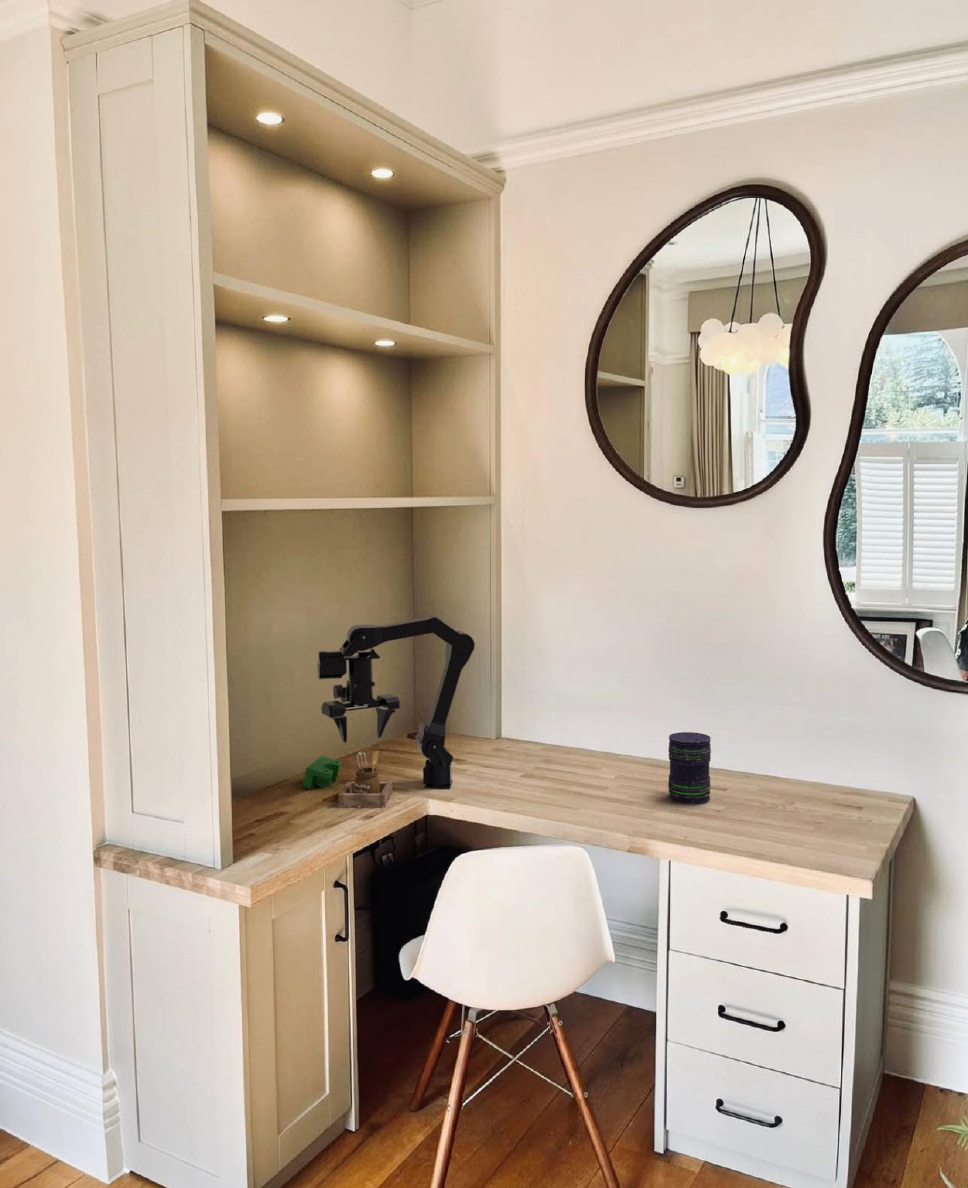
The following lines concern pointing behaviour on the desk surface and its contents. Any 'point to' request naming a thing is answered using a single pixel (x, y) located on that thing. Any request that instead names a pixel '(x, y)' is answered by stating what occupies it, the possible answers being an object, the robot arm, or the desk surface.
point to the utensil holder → (367, 778)
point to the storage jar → (689, 768)
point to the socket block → (364, 796)
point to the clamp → (321, 772)
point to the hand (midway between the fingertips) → (362, 739)
